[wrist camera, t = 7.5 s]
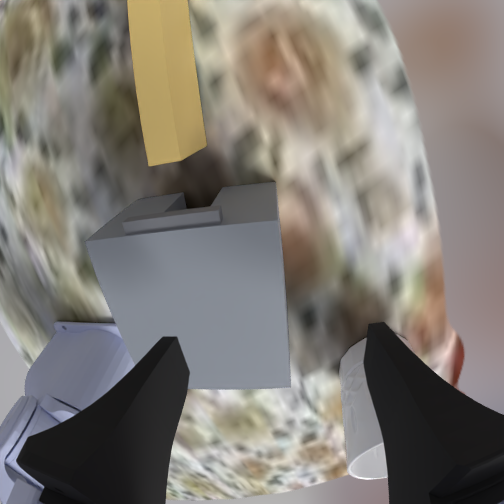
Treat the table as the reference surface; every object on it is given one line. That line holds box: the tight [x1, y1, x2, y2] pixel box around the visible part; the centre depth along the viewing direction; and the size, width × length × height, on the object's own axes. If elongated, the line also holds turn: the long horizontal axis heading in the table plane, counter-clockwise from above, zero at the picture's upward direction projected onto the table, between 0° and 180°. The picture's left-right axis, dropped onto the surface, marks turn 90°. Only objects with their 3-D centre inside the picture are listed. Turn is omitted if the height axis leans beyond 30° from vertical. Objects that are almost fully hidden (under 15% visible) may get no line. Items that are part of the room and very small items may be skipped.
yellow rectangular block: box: [127, 0, 207, 166], centre depth 13 cm, size 2×10×6 cm, turn 7°
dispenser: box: [85, 182, 291, 389], centre depth 18 cm, size 9×11×7 cm
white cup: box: [339, 334, 415, 479], centre depth 20 cm, size 8×8×10 cm
